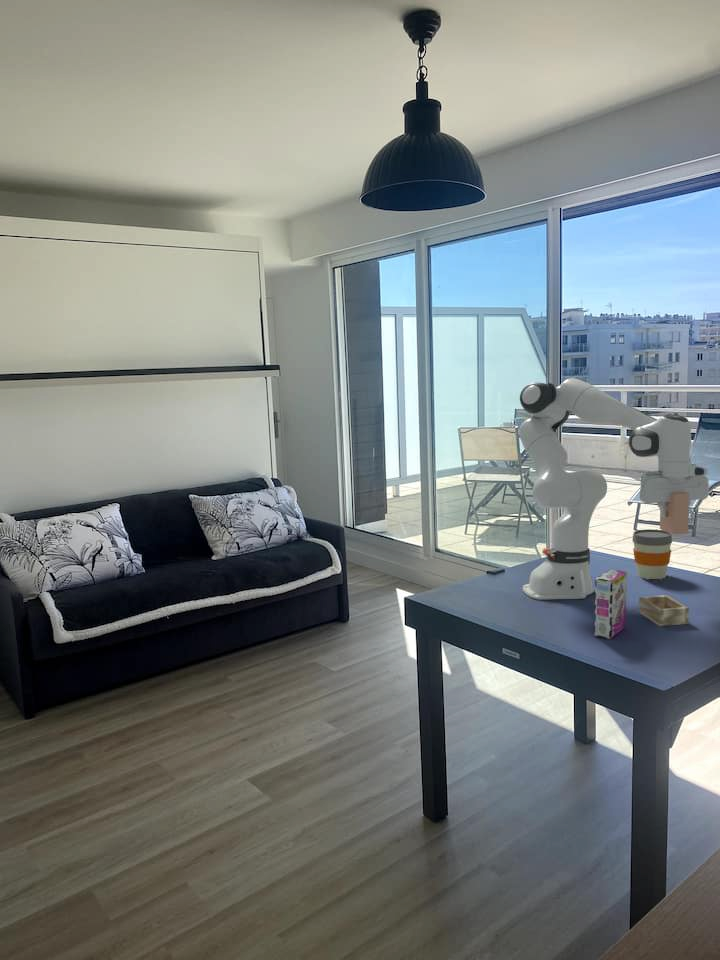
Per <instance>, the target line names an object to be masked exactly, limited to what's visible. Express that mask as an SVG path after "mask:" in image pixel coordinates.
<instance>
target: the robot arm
mask: <svg viewBox="0 0 720 960" xmlns="http://www.w3.org/2000/svg"><path fill="white" fill-rule="evenodd" d="M519 403H520V405H521V407H522V409H524V411H525V412H527V413H529V414H530V415H529V416H528V419H526V420H525V421H523V422H522V423H521V424H520V425H519V428H518V434H519V438H520V441H521V444H522V446H523V449H524V451H525V452H526V454H527V455H528V456H529V459H530V460H531V462H532V464H533V466H534V468H535V470H536V471H537V479H536V481H535V482H534V484H533V487H532V496H533V500H534V502H535V503H536V504H537V506H539V507H540V508H542V509H552V510H553V509H554V510H557V509H564V511H563V512H562V514H561V516H560V517H559V518H557V519H556V520H555V521H554V523H553V526H552V547H551V549H548V548H546V547H545V548H543V549H542V551H541V552H542V554H543V555H545V556H547V558H546V560H544V561H543V562H542V563H541V564H540V565H537V566H536V568H534V569H533V570H532V571H531V572H530V577H529V583H527V584H524V585H522V592H523V593H524V594H525V595H526V596H527V597H530V598H532V599H534V600H573V599H574V600H578V599H579V600H581V599H585V598H587V596H588V595H592V593H594V592H595V588H594V586H593V583H592V580H591V571H590V563H591V552H590V548H589V531H590V530H589V529H590V523H591V519H592V516H593V513H594V512H595V509H596V508H597V506H598V505H599V504H600V502H601V501H602V500H603V499H604V498H605V497H606V495H607V492H608V484H607V481H606V478H605V476H604V475H603V474H601V473H600V472H598V471H593V470H580V471H571V472H568V471H566V470H565V469H564V468H565V466H566V464H567V462H568V451H566V449H565V448H564V446H563V445H562V443H561V441H560V440H559V438H558V437H557V435H556V434H555V432H554V431H557V430H558V428H559V427H561V426H562V425H564V424H565V422H567V421H568V419H569V417H570V413H571V414H572V415H574V416H576V417H577V418H579V420H580V419H581V420H582V421H584V422H585V423H589V424H592V425H602V426H605V425H608V426H609V425H611V426H613V425H614V426H622V427H625V428H629V429H630V430H632V431H631V432H630V434H629V437H628V446H629V448H630V451H631V452H632V453H633V454H634V455H635V456H637V457H640V458H650V457H657V458H658V459H657V460H658V462H657V463H658V469H657V470H656V471H655V470H653V471H646V472H645V473H643V474H642V475H641V476H640V489H639V490H640V491H639V500H640V501H641V502H642V503H644V504H656V505H657V507H658V509H659V511H660V510H661V516H662V517H668V512H669V511H667V510H665V508H664V506H665V502H670V493H678V492H686V493H689V507H690V506H691V504H692V501H697V500H699V501H700V500H706V499H707V498H708V497H709V496H710V485H709V479H708V478H709V477H707V475H708V468H706V467H703V466H699V465H697V464H693V463H692V460H691V459H692V458H691V453H690V450H691V447H692V430H691V429H692V428H691V423H690V421H689V419H688V418H687V417H685V416H684V415H679V414H672V413H671V414H670V413H669V414H662V415H661V416H660V417H659V418H658V419H657V418H654V417H653V416H651V415H649V414H647V413H645V412H642V411H640V410H639V409H637V408H635V407H633V406H631V405H628V404H626V403H624V402H622V401H621V400H618V399H616V398H615V397H613V396H611V395H609V394H608V393H607V392H604V391H603V390H601V389H600V388H598V387H596V386H595V385H592V384H591V383H588V382H587V381H583V380H581V379H578V378H574V377H571V378H567V379H565V380H564V381H562V382H561V383H560V385H559V386H555V385H554V384H553V383H552V382H545V383H544V382H531V383H528V384H527V385H526V386H524V388H522V390H521V391H520V395H519Z"/></svg>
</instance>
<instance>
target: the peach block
mask: <svg viewBox="0 0 720 960" xmlns="http://www.w3.org/2000/svg"><path fill="white" fill-rule="evenodd" d="M664 508H665V510H667V511H669V512H668V517H662V516H661V510H660V509H659V530H663V531H666V532H669V533H671V535H688V534H689V521H690V517H689V516H690V515H689V514H690V506H689V493H686V492H678V493H670V502H665V506H664Z"/></svg>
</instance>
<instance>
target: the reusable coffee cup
mask: <svg viewBox="0 0 720 960" xmlns="http://www.w3.org/2000/svg"><path fill="white" fill-rule="evenodd" d="M632 542H633V548H632V550H633V557H634V558H633V559H634V562H635V565H636V571H637V577H638V576H639V577H638V578H640V577H641V578H640V579H643V578H645V579H644V580H649V579H660V580H662V579H661V578H664V579H666V578H665V577H667V572H668V565H669V564H670V563H671V555H672V554H671V553H672V549H671V546H672V543H673V539H672V534H671V533H669V532H666V531H664V530H661V529H650V528H649V529H647V528H646V529H639V530H635V531H633V534H632Z"/></svg>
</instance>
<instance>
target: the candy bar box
mask: <svg viewBox="0 0 720 960" xmlns="http://www.w3.org/2000/svg"><path fill="white" fill-rule="evenodd" d="M594 579H595V580H594V583H595V584H594V586H595V588H594V637H598V638H603V639H607V640H612V639H613V638H614V637H616V636H617V635H618V634H619V633H620V632H622V631H623V630H624V629H625V628H626V619H627V618H626V615H627V614H626V613H627V612H626V611H627V610H626V607H627V606H626V605H627V601H626V600H627V571H623V570H615V569H609V570H607V571H605V572H604V573H603V574H600V575H599V576H598V577H596V578H594Z"/></svg>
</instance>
